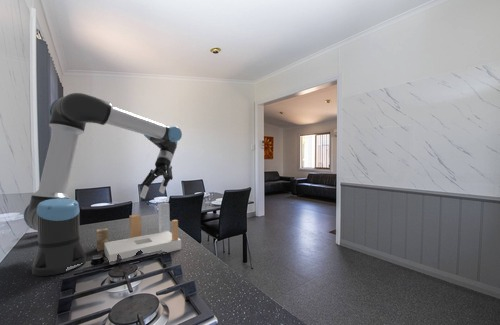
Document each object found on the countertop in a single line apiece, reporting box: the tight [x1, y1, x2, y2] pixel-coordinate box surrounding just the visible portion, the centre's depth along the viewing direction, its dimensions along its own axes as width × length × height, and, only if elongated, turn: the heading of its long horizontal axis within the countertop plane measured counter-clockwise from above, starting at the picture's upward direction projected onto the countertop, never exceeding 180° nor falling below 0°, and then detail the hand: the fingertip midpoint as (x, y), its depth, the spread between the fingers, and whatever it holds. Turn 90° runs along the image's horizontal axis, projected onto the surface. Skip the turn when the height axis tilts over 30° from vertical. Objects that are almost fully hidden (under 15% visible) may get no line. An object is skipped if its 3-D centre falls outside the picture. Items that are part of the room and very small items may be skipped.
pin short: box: [95, 227, 110, 252], centre depth 104 cm, size 4×4×8 cm
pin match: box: [129, 213, 142, 238], centre depth 112 cm, size 4×4×12 cm
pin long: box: [158, 202, 171, 233], centre depth 120 cm, size 4×4×16 cm
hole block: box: [103, 219, 182, 261], centre depth 101 cm, size 26×16×12 cm, turn 127°
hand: (151, 195), depth 120 cm, fingers open, 13 cm apart
